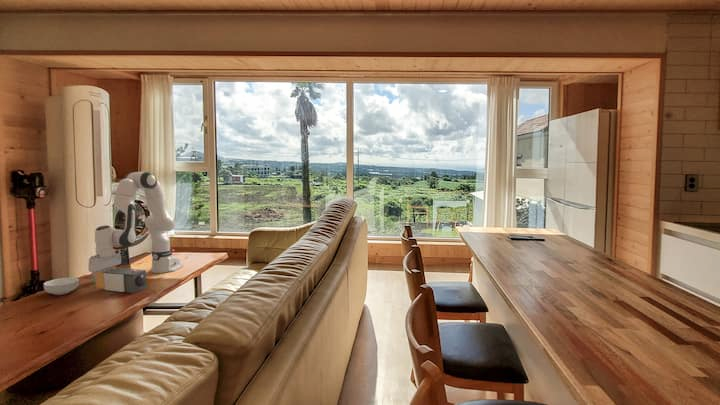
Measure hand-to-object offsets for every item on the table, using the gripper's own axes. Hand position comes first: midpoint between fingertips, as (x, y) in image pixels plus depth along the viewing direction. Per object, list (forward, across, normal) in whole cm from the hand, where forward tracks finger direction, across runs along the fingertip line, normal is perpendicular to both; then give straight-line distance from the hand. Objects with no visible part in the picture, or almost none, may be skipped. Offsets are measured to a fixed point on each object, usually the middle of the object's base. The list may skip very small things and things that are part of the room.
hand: (106, 275), depth 248 cm
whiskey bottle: (+8, +33, +24) cm, 41 cm away
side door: (+7, -4, -7) cm, 11 cm away
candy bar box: (+8, +11, +15) cm, 20 cm away
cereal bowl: (+8, -14, +17) cm, 24 cm away
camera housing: (+8, +2, -13) cm, 15 cm away
